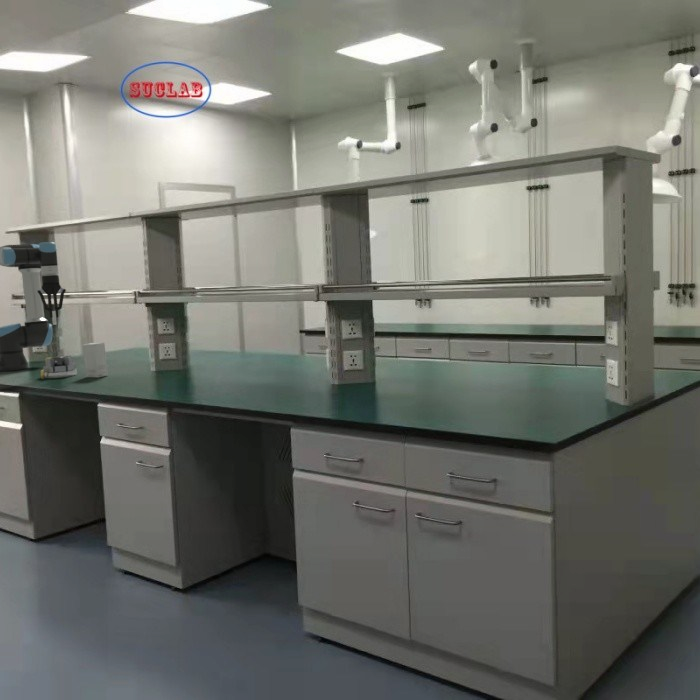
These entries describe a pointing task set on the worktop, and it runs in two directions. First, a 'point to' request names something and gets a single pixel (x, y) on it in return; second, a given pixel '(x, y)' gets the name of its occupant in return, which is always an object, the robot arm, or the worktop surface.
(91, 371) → the skincare box
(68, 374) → the housing
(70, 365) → the ring nut
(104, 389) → the worktop surface
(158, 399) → the worktop surface
